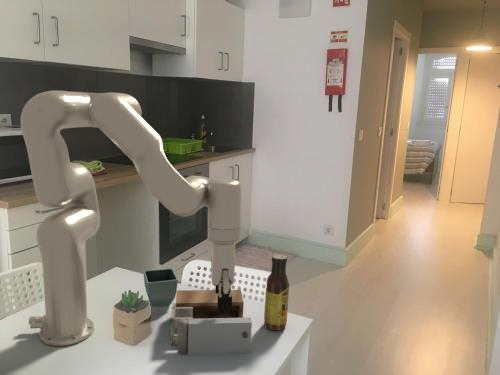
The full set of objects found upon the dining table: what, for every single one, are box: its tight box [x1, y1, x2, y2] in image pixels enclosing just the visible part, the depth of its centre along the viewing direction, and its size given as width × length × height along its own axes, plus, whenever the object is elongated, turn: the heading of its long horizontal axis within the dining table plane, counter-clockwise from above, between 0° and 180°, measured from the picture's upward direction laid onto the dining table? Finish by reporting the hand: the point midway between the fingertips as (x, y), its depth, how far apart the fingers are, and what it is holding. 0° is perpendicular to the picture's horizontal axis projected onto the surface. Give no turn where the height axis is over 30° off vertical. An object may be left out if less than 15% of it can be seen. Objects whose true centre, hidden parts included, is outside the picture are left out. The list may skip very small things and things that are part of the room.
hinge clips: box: [170, 302, 193, 346], centre depth 106 cm, size 5×8×7 cm, turn 7°
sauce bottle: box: [263, 253, 290, 332], centre depth 112 cm, size 6×6×20 cm
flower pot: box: [143, 268, 179, 308], centre depth 123 cm, size 9×9×9 cm
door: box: [177, 317, 253, 356], centre depth 100 cm, size 17×3×8 cm, turn 97°
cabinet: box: [175, 289, 245, 319], centre depth 115 cm, size 18×8×7 cm, turn 97°
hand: (223, 302), depth 99 cm, fingers open, 9 cm apart
